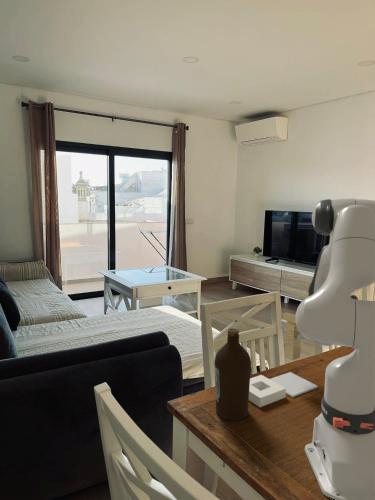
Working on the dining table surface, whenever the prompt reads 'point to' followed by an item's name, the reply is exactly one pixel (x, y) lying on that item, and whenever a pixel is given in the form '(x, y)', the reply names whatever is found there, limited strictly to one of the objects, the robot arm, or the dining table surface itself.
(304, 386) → the white mat
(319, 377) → the dining table surface
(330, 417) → the robot arm
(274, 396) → the socket block
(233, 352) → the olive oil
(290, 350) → the t key
